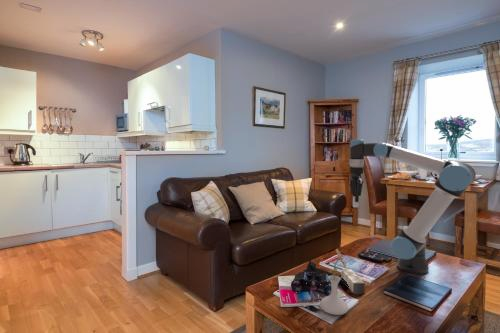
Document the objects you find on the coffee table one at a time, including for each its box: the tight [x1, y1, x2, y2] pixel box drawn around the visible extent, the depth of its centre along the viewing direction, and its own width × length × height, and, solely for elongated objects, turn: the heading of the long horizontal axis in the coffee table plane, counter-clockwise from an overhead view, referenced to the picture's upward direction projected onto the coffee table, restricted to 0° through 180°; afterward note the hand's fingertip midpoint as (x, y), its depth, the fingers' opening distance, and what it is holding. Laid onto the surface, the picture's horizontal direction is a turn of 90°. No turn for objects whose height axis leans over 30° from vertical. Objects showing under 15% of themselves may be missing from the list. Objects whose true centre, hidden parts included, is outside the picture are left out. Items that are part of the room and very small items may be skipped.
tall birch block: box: [340, 268, 366, 295], centre depth 140 cm, size 5×5×15 cm
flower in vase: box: [319, 248, 349, 316], centre depth 120 cm, size 13×11×25 cm
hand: (355, 207), depth 166 cm, fingers closed
